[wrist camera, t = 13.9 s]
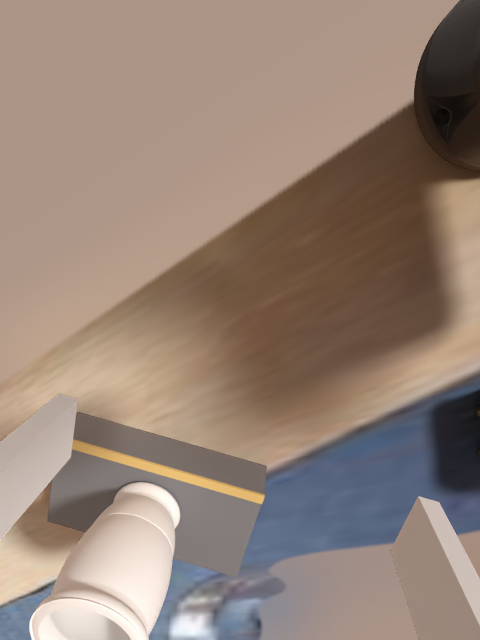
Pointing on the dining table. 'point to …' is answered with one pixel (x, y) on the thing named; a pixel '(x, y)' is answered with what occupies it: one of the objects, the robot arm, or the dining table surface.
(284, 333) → the dining table surface
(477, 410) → the wicker basket
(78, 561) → the jar
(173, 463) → the dock
